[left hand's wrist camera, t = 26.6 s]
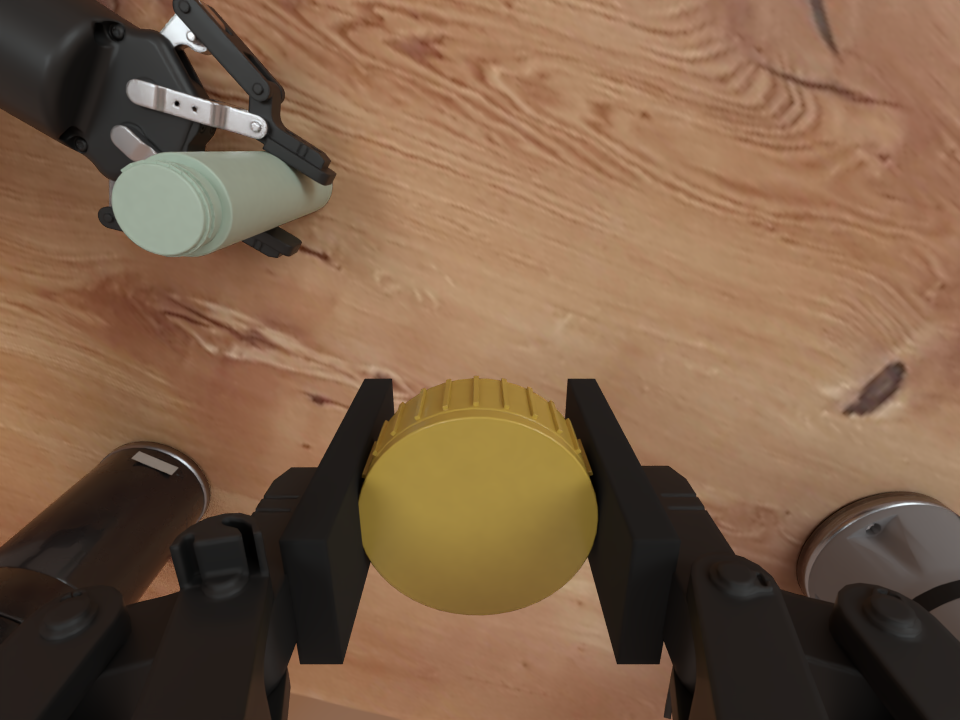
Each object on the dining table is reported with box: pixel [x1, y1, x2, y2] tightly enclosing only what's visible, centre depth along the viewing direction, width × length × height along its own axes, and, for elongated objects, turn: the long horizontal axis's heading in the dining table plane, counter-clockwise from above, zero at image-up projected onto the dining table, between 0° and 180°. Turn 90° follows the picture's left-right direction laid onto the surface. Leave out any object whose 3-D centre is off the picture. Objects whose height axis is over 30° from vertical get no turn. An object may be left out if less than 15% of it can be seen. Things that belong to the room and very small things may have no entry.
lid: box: [358, 376, 598, 615], centre depth 11 cm, size 5×5×2 cm
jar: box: [112, 151, 332, 257], centre depth 28 cm, size 4×4×18 cm
